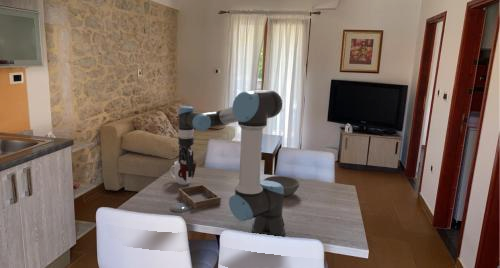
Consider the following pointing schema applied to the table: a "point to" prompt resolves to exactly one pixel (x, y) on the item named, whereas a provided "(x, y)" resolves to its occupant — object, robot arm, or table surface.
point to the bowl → (285, 183)
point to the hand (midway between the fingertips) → (186, 180)
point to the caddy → (204, 203)
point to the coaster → (180, 207)
